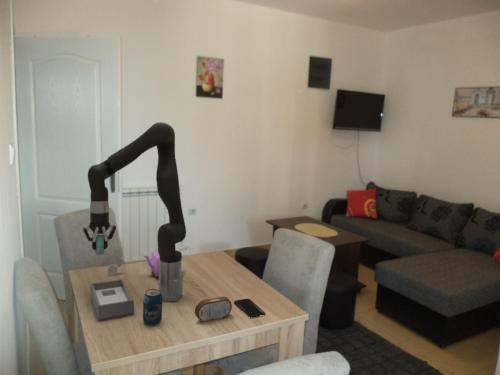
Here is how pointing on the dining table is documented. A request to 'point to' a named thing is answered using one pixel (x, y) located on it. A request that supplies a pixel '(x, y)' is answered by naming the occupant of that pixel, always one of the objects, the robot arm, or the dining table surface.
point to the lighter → (114, 268)
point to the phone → (249, 307)
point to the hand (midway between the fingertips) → (99, 249)
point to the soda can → (152, 307)
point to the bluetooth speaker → (213, 309)
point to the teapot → (154, 262)
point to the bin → (111, 300)
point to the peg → (99, 245)
